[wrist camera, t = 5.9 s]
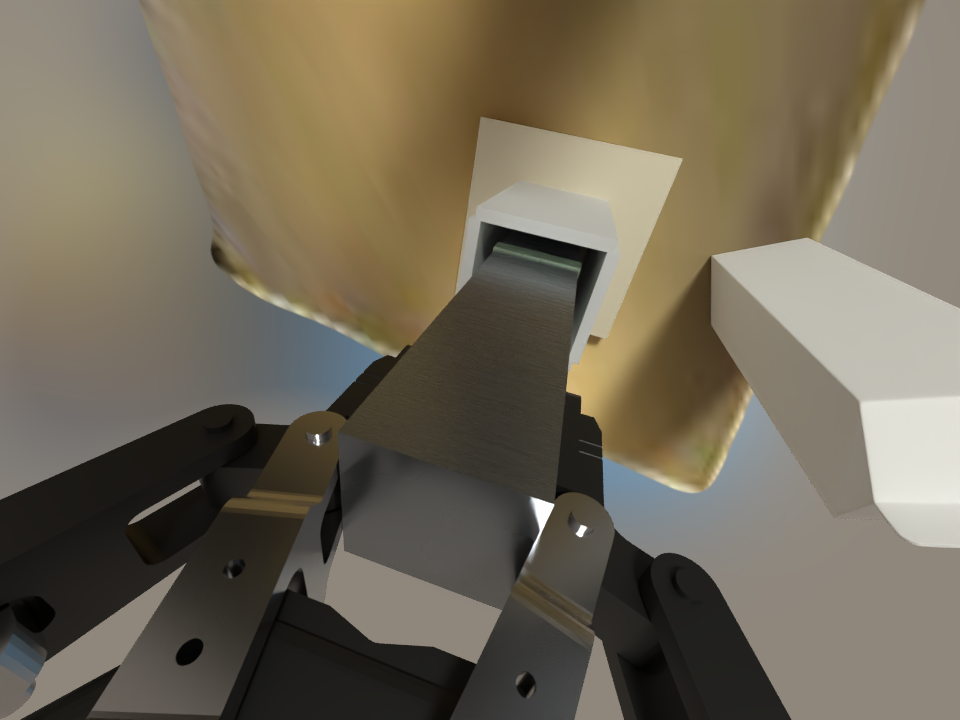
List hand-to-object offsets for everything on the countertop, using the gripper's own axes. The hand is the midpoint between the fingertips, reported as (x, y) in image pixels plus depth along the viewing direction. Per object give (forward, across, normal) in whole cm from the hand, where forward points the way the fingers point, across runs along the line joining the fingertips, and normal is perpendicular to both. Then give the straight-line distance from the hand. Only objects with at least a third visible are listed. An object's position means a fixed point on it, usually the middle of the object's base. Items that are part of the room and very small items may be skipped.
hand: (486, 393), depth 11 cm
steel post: (+14, 0, 0) cm, 14 cm away
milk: (+23, -16, 0) cm, 28 cm away
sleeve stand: (+23, 0, 0) cm, 23 cm away
